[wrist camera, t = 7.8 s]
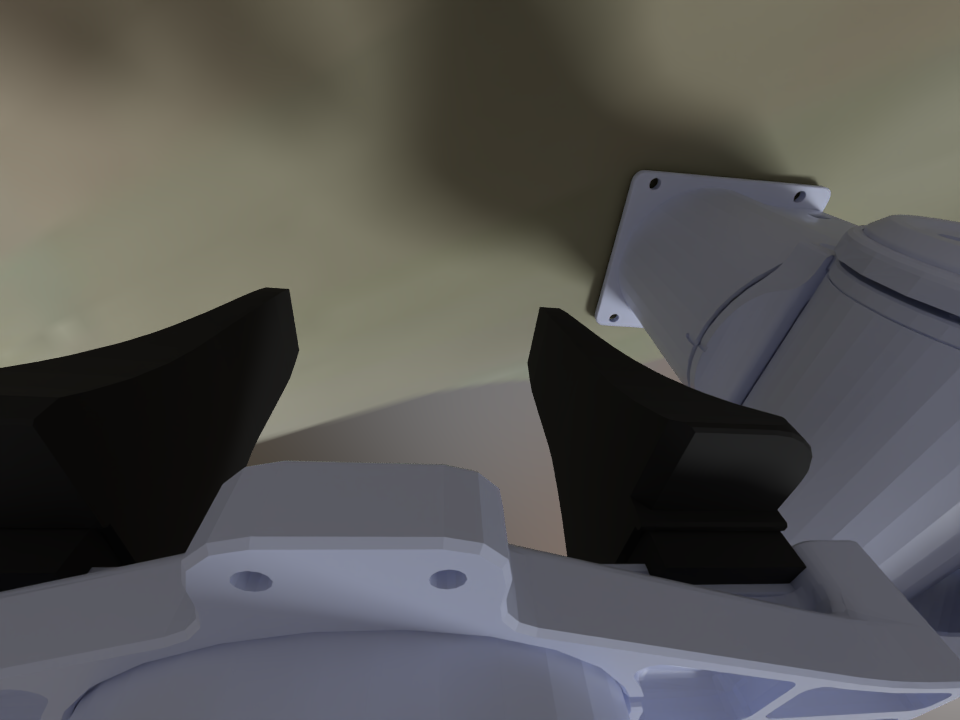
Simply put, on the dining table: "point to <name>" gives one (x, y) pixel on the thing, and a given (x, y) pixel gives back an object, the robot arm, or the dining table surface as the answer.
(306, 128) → the dining table surface
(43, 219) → the dining table surface
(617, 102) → the dining table surface
